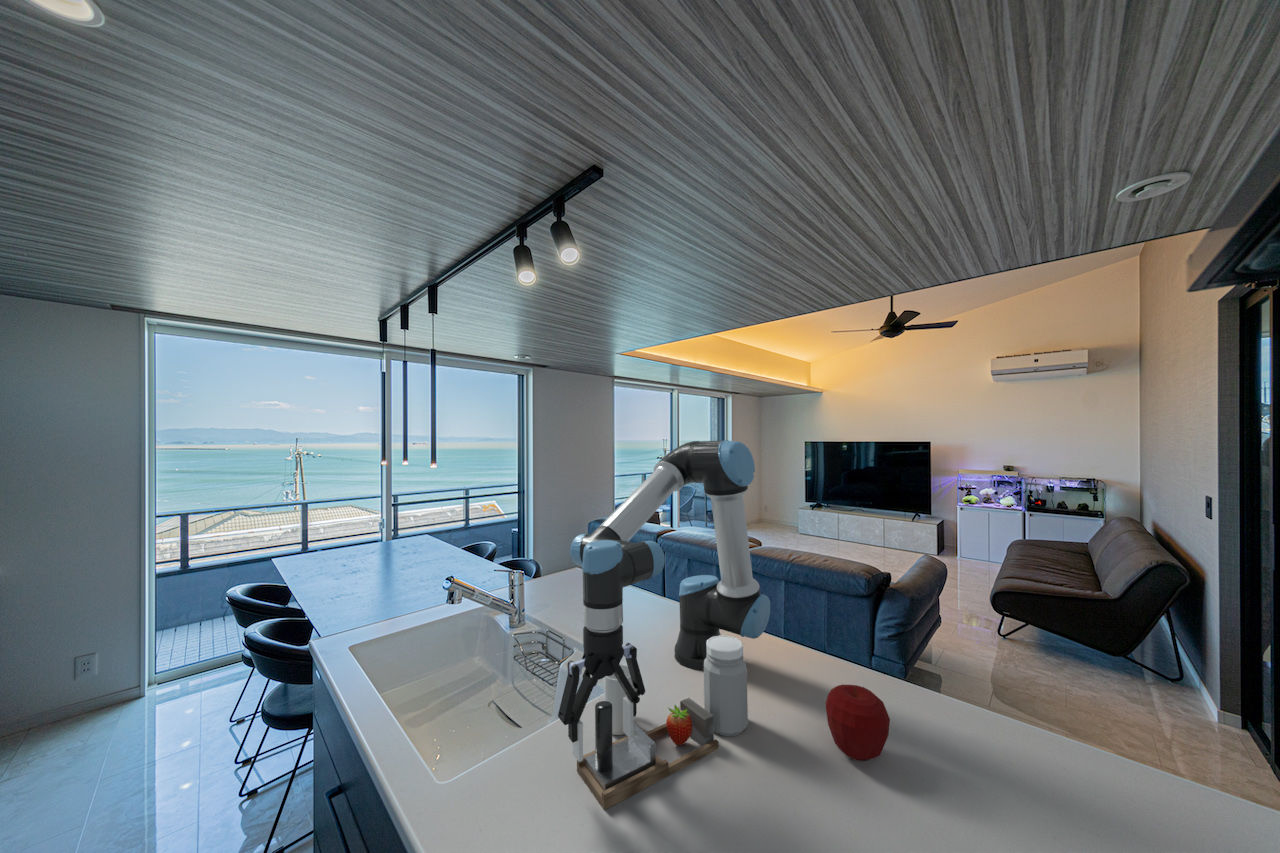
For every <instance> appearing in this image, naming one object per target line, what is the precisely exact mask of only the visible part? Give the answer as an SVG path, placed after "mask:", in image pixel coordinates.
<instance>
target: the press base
mask: <svg viewBox="0 0 1280 853" xmlns="http://www.w3.org/2000/svg"><path fill="white" fill-rule="evenodd" d="M686 709H688V710H687V713H690V714H689V716H690V718H691V721H692V733H691V735H690V737H689V738H690V739H692V740H693V741H694V742H695V743H696V744H698V745H699V746H700V747H698V748H696V749H694V750H692V751H690V752H688V753H686V754H684V755H682V756H681V757H678V758H677V759H676V758H675V759H674V760H673V761H671V762H669V761H668V760H667V759H665V760H662V759H661V758H660V757H659V756H658V755H657V754H656V765H654V766H652V767H650V768H648V769H646V770H644V771H642V772H640V773H638V774H636V775H634V776H632V777H630V778H628V779H627V780H625V781H623V782H621V783H619V784H617V785H615V786H613V787H611V788H609V789H607V790H604V789H603V788H602V786H601V785H600V784H599V782H598V781H597V780H596V778H595V777H594V776H593V774H592V773H591V772H590V770H589V769H588V768H587V766H586V765H585V758H586V757H588V756H590V755H592V754H595V750H593V751H590V752H588V753H585V754H583V761H581V762H579V761H578V760H577V759H576V772H577V774H578V775H579V776H580V778H581V779H582V781H583V782H584V783H585V785H586V787H587V788H588V789H589V790H590V792H591V794H593V796H594V798H595V799H596V801H597V802H598V803H599V805H600V806H601V808H602V810H604V811H606V810H607V809H609V808H612V807H614V806H615V805H617V804H619V803H621V802H623V801H624V800H627V799H628V798H630V797H633V796H634V795H636V794H637V793H640V792H641V791H644V790H645V789H647V788H648V787H651V786H653V785H654V784H656V783H658V782H660V781H662V780H664V779H666V778H667V777H669V776H672V775H674V774H675V773H677V772H678V771H681V770H683V769H684V768H686V767H688V766H690V765H692V764H694V763H696V762H697V761H700V760H702V759H703V758H705V757H707V756H709V755H711V754H713V753H714V752H716V751H718V750H720V741H719V740H717V739H716V738H715V736H714V735H715V734H714V733H715V732H714V721H713V715H712V714H710V713H709V712H708V711H706V710H705V707H704V708H703V707H702V706H701V705H699V703H697V702H696V701H695V700H693V699H691V698H690V697H688V698H684V699H682V700H680V701H679V710H682V711H684V710H686ZM644 733H645V734H646V735H647V736H649V737H650V738H651V739H652V740H653V741H654V740H655V739H657V738H660V737H662V736H664V735H666V734H668V731H667V726H666V723H664V724H661V725H659V726H656V727H655V728H652V729H650V730H648V731H646V732H645V731H644ZM626 739H628V736H627V735H625V736H624V737H621V738H620V739H618V740H615V741H612V745H615V744H617V743H619V742H621V741H624V740H626Z"/></svg>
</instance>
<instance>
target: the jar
mask: <svg viewBox="0 0 1280 853" xmlns="http://www.w3.org/2000/svg"><path fill="white" fill-rule="evenodd" d="M706 648H707V657H706V659H705V660H704V669H703V686H704V687H703V690H704V691H703V693H704V694H703V696H704V698H703V699H704V703H703V704H704V709H705V710H706V711H708V712H709V713H710V714H712V715H713V721H714V733H716V734H719V735H721V736H726V737H733V736H737V735H740V734H741V733H742V732H743V731H745V729H746V728H747V727H748V725H749V718H748V717H749V715H748V713H749V712H748V707H749V706H748V705H749V704H748V668H747V662H746V661H745V660H744V643H743V641H741V640H740V639H739V638H736V637H734V636H730V635H722V634H721V635H719V636H714V637H711V638H709V639H708V640H707V643H706Z"/></svg>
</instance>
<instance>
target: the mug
mask: <svg viewBox="0 0 1280 853" xmlns="http://www.w3.org/2000/svg"><path fill="white" fill-rule="evenodd" d="M619 665H620V666H621V668H622V670H623V671H624V674H625V676H626V677H627V679H628V681H629V682H630V684H631V686H632V688H633V684H632V680H631V676H630V673H629V669H628V666H627V664H621V663H619ZM603 697H604V698H603V699H604V700H603V701H608V702H610V703H611V704H612V736H623V735H626V734H625V733H624V732H623V697H627V695H626V693H625V692H624V690H623V688H622V687H621V685H620V683H619V682H618V680H617V678H616V677H615V675H614V674H613V675H611V676H605V677H604V678H603Z"/></svg>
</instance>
